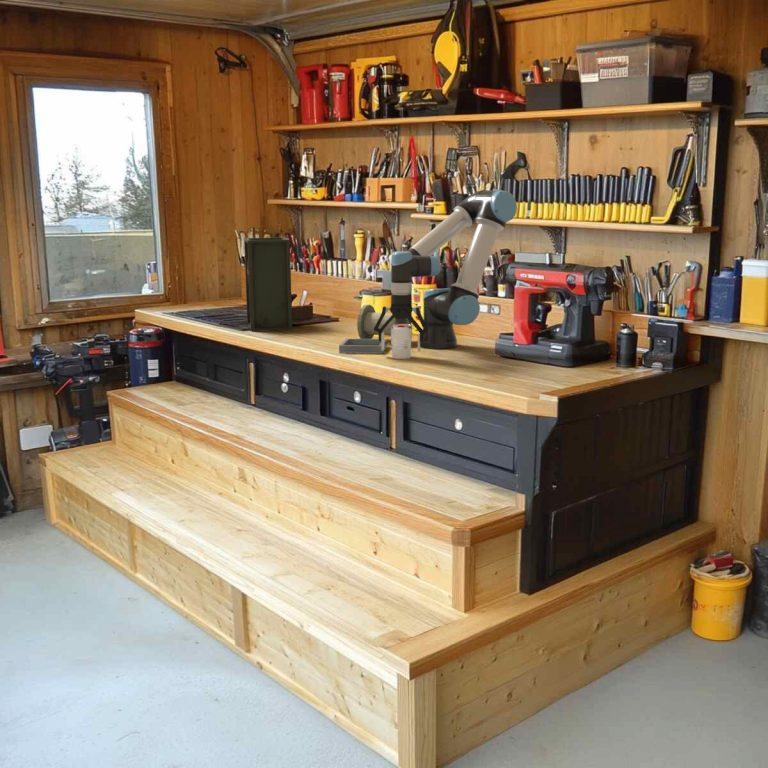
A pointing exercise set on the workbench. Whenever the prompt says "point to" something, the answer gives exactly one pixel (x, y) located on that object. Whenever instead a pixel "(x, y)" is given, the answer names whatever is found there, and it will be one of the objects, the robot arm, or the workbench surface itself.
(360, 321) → the spool
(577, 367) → the workbench surface
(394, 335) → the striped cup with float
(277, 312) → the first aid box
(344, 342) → the tray
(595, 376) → the workbench surface
